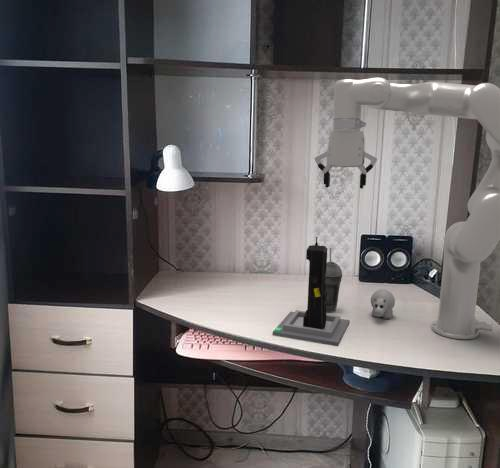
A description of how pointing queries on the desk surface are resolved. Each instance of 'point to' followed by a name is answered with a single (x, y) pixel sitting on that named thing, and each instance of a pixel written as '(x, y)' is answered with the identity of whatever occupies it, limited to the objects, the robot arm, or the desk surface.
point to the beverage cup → (332, 285)
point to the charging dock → (312, 329)
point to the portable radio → (316, 287)
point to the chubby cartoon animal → (382, 303)
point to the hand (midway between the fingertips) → (344, 187)
